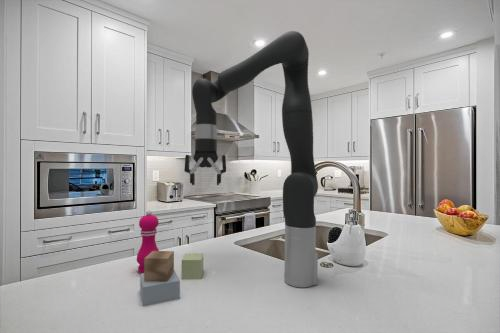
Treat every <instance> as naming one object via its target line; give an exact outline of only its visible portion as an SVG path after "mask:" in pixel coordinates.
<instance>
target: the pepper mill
mask: <svg viewBox="0 0 500 333" xmlns="http://www.w3.org/2000/svg"><path fill="white" fill-rule="evenodd" d="M159 223H160V222H159V218H158V217H157V216H156V215H154V214H153V212H152V210H150V209H148V210H147V211H146V212H145V215H143V216H142V217H141V218H140V219H139V221H138V226H139V228H140V229H141V230H140V235H141V237H142V238H141V241H142V242H141V245H140V248H139V249H138V252H137V255H136V262H137V263H138V267H137V268H138V269H137V271H138V274H142V273H144V258H145V257H147V256H148V255H149V254H150V253H151V252H152V251H160V250H159V248H158V245H157V243H156V235H157V234H158V232H157V227H158V226H159Z"/></svg>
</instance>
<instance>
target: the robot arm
mask: <svg viewBox="0 0 500 333" xmlns="http://www.w3.org/2000/svg"><path fill="white" fill-rule="evenodd" d="M309 56H310V52H309V47H308V45H307V42H306V39H305V38H304V36H303V34H301V33H300V32H299V31H296V30H290V31H287V32H285V33H283V34H282V35H280V36H278V37H277V38H275V39H274V40H272V41H271V42H270V43H268V44H267V45H265V46H264V47H262V48H261V49H260V50H259V51H257V52H256V53H254V54H253V55H251V56H249V57H248V58H245V60H243V61H240V62H239V63H237V64H235V65H233V66H231V67H229V68H227V69H225V70H222V71H221V72H220V73H218V75H217V79H216V80H215V81H213V82H212V81H210V80H209V79H207V78H203V77H200V78H197V79H196V80H195V81H194V83H193V85H192V89H191V92H192V93H191V94H192V101H193V104H194V109H195V130H194V155H189V154H186V155H185V157H184V158H185V159H184V172H185V173H187V174H189V183H190V184H191V186H195V183H196V181H195V180H196V179H195V178H196V177H195V176H196V174H195V172H197V170H198V169H199V168H213V169H214V171H215V172H216V186H219V185H220V184H221V183H222V174H224V173H226V172H227V161H226V160H227V159H226V155H225V154H224V155H218V152H217V151H218V131H217V112H216V110H215V108H214V107H213V104H214V103H216V102H219V101H220V100H222V99H223V98H224V97H226V96H227V95H229V93H230V92H233V91H235V90H238V89H240V88H242V87H244V86H245V85H247V84H249V83H251V82H252V81H254V79H256V77H258V76H259V75H260V74H262V72H264V71H265V70H267V69H269V68H271V67H273V66H275V65H276V66H277V65H279V64H281V66H282V70H283V77H284V78H283V79H284V85H285V86H284V93H283V94H284V95H283V100H282V105H281V106H282V107H281V118H282V119H281V120H282V121H281V122H282V131H283V136H284V140H285V143H286V146H287V149H288V153H289V155H290V156H289V157H290V174H288V176H287V177H286V178H285V180H284V182H283V185H282V213H283V217H284V268H283V269H284V271H283V272H284V273H283V277H284V278H283V280H284V282H285V283H286V284H287V285H289V286H292V287H295V288H301V289H303V288H310V287H314V286H317V285H318V263H319V261H318V258H319V257H318V256H319V255H318V254H319V253H318V251H317V250H316V238H317V237H316V232H317V228H316V227H317V226H316V224H317V218H316V215H315V208H314V207H315V206H314V205H315V201H314V199H315V196H317V193H318V191H319V182H318V178H317V172H316V166H315V159H314V123H313V122H314V120H313V110H312V109H313V108H312V100H311V94H310V87H309V79H308V78H309V76H308V74H309ZM212 103H213V104H212ZM193 160H194V161H195V163H194V165H193V167H192V168H191V169H190V163H191V161H193ZM218 160H219V161H220V162H221V163H222V169H221V170H220V168H219V167H218V166H217V164H216V162H217V161H218Z"/></svg>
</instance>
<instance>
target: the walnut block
mask: <svg viewBox="0 0 500 333" xmlns="http://www.w3.org/2000/svg"><path fill="white" fill-rule="evenodd" d="M174 267H175V251H173V250H159V251H152V252H151V253H150V254H149V255H148V256H147V257H145V258H144V281H148V282H167V281H168V280H169V279H170V277H171V276H172V274H173V273H174V270H175V268H174Z"/></svg>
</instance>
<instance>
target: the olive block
mask: <svg viewBox="0 0 500 333" xmlns="http://www.w3.org/2000/svg"><path fill="white" fill-rule="evenodd" d="M182 256H183V257H182V259H181V276H180V277H181V278H180V279H181V280H201V279H202V277H203V273H204V253H203V252H202V253H199V252H198V253H193V252H192V253H184V255H182Z"/></svg>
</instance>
